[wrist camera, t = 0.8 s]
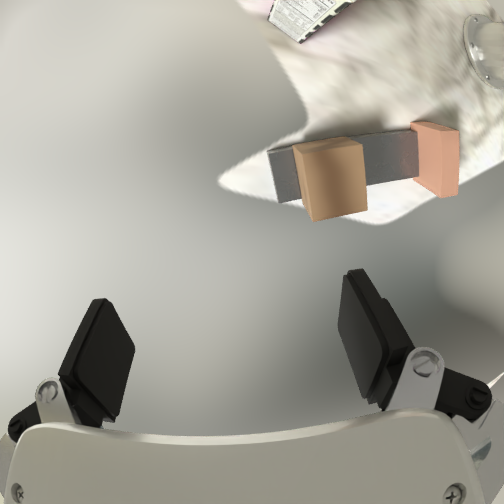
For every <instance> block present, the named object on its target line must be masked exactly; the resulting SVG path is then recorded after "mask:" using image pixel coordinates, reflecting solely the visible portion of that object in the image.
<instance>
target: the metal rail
mask: <svg viewBox="0 0 504 504" xmlns="http://www.w3.org/2000/svg"><path fill="white" fill-rule="evenodd" d="M347 138H349V139H352V140H354V141H356V142H358V143H360V144H362V146H363V156H364V166H365V177H366V186H367V185H373V184H378V183H384V182H390V181H396V180H402V179H408V178H414V177H419V151H418V133H417V132H416V131H413V130H403V131H392V132H382V133H373V134H364V135H356V136H349V137H347ZM267 155H268V159H269V163H270V168H271V172H272V177H273V181H274V186H275V191H276V195H277V200H278V202H279V203H283V202H288V201H292V200H297V199H302V196H301V190H300V184H299V179H298V173H297V168H296V163H295V158H294V153H293V148H292V146H290V147H285V148H280V149H275V150H270V151H267Z"/></svg>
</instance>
